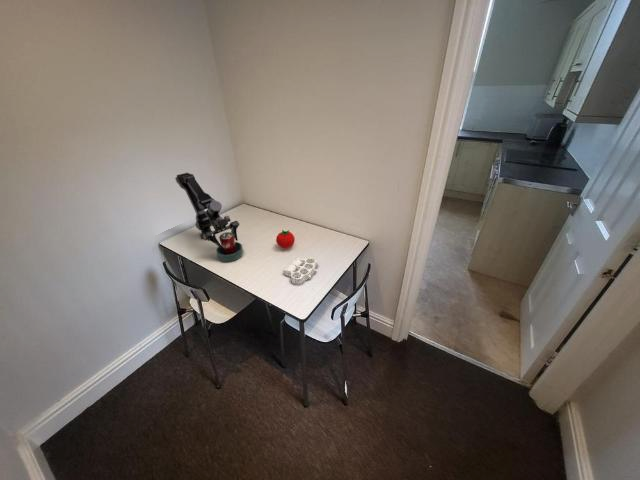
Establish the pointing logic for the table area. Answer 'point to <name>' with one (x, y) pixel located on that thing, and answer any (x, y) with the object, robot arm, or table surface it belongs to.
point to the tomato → (285, 239)
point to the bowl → (232, 256)
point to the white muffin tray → (301, 269)
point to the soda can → (228, 243)
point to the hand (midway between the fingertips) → (229, 244)
